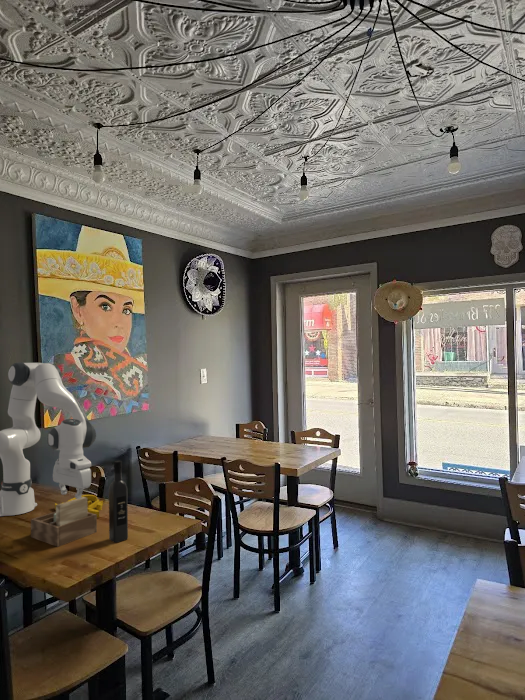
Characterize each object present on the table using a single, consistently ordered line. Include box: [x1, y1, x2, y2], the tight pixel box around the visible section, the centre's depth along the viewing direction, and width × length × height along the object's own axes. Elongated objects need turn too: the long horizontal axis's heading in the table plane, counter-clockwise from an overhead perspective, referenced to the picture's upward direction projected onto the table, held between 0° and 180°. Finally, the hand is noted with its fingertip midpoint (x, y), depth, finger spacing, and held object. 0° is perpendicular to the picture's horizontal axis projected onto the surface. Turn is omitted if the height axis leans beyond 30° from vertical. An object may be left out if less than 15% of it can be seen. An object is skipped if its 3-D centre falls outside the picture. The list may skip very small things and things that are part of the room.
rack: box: [30, 511, 98, 548], centre depth 182 cm, size 18×17×7 cm
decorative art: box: [54, 494, 104, 518], centre depth 212 cm, size 21×3×30 cm
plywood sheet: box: [55, 497, 88, 527], centre depth 179 cm, size 2×12×14 cm, turn 147°
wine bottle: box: [108, 460, 129, 544], centre depth 176 cm, size 6×6×30 cm
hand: (71, 496), depth 179 cm, fingers open, 8 cm apart
